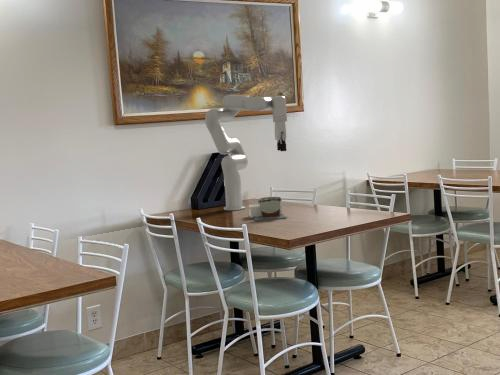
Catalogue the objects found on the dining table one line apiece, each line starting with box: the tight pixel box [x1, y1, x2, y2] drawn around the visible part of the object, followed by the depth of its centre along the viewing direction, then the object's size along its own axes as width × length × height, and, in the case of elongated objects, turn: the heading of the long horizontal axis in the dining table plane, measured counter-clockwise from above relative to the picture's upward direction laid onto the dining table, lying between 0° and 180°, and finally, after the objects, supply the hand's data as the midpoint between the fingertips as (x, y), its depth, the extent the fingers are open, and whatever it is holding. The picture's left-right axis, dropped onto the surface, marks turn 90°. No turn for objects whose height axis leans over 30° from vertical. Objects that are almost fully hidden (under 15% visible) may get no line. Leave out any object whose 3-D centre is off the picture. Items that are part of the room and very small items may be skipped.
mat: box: [252, 213, 288, 222], centre depth 329 cm, size 12×16×1 cm
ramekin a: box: [248, 203, 262, 219], centre depth 336 cm, size 8×8×6 cm
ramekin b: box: [280, 203, 283, 215], centre depth 337 cm, size 8×8×6 cm
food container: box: [257, 196, 282, 218], centre depth 329 cm, size 12×6×10 cm, turn 98°
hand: (281, 150), depth 346 cm, fingers open, 9 cm apart
